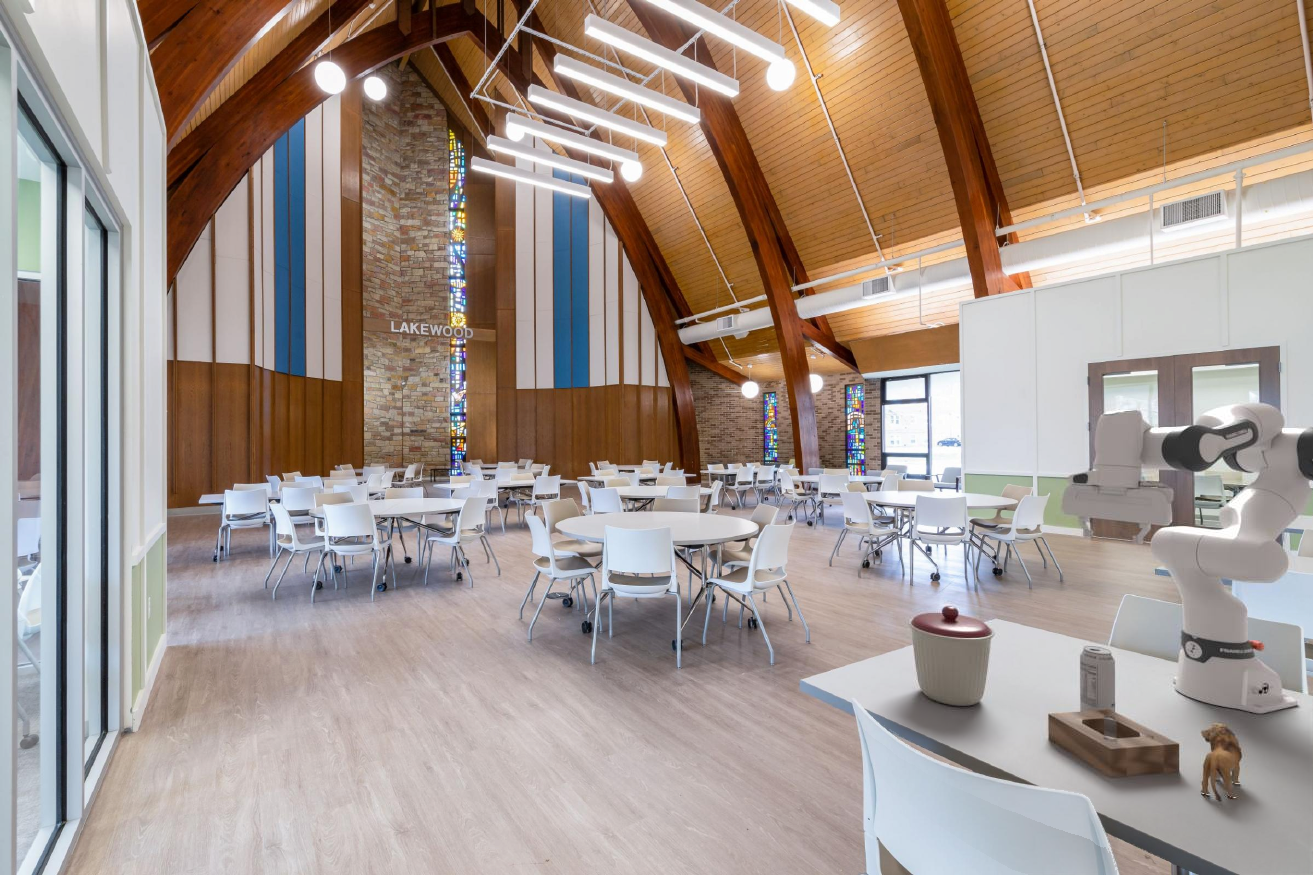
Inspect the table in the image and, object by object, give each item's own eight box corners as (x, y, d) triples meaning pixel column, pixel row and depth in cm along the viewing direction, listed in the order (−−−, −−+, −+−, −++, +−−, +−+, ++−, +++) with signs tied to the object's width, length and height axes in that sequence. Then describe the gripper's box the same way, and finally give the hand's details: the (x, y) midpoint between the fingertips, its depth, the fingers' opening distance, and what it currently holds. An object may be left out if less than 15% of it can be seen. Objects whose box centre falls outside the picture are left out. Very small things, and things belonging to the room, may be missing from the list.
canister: (978, 684, 147) (978, 598, 147) (1007, 717, 129) (1007, 619, 129) (900, 679, 150) (900, 594, 150) (918, 710, 132) (918, 615, 133)
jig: (1110, 734, 122) (1110, 709, 122) (1179, 771, 108) (1179, 743, 108) (1048, 738, 120) (1048, 713, 120) (1110, 777, 106) (1110, 748, 106)
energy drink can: (1121, 727, 125) (1121, 655, 125) (1088, 725, 126) (1088, 653, 126) (1105, 715, 130) (1105, 645, 131) (1074, 712, 132) (1074, 644, 132)
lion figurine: (1201, 765, 110) (1200, 715, 110) (1241, 776, 107) (1241, 725, 107) (1199, 799, 99) (1199, 745, 100) (1244, 813, 96) (1244, 756, 96)
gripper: (1179, 484, 130) (1175, 548, 129) (1071, 477, 147) (1067, 534, 146) (1169, 482, 126) (1165, 548, 125) (1060, 475, 143) (1056, 533, 142)
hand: (1112, 540), depth 136 cm, fingers open, 8 cm apart
